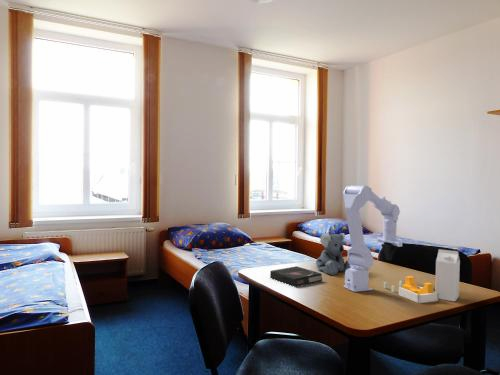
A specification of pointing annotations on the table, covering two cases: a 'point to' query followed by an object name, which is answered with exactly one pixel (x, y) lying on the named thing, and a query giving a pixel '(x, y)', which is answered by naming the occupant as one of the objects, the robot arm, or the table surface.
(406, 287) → the pipe clamp
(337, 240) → the koala plush
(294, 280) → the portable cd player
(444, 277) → the milk carton
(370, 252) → the robot arm
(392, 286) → the clips
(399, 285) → the small blocks
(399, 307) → the table surface
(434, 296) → the end holder
